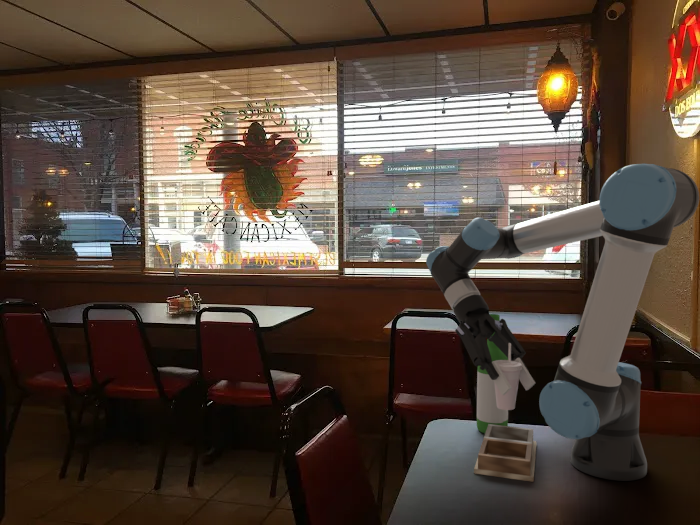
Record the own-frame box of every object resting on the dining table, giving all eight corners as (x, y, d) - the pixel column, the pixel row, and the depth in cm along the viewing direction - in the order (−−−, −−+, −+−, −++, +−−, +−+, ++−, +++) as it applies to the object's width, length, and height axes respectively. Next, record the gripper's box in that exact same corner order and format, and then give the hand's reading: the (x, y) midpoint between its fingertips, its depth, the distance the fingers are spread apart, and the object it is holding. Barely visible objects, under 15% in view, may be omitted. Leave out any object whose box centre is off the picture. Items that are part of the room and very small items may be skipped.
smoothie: (522, 413, 119) (524, 346, 119) (491, 410, 121) (492, 345, 120) (519, 404, 126) (521, 341, 125) (489, 402, 127) (491, 339, 126)
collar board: (536, 445, 136) (536, 429, 136) (533, 481, 117) (533, 462, 116) (485, 439, 140) (485, 423, 140) (473, 473, 121) (474, 454, 120)
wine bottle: (513, 431, 146) (515, 315, 144) (496, 438, 141) (498, 318, 139) (487, 423, 152) (489, 311, 150) (470, 430, 146) (471, 314, 145)
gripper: (489, 310, 140) (540, 392, 127) (427, 316, 130) (475, 405, 117) (505, 290, 135) (560, 373, 122) (442, 295, 126) (494, 385, 112)
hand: (519, 388), depth 120 cm, fingers closed on smoothie, 6 cm apart
